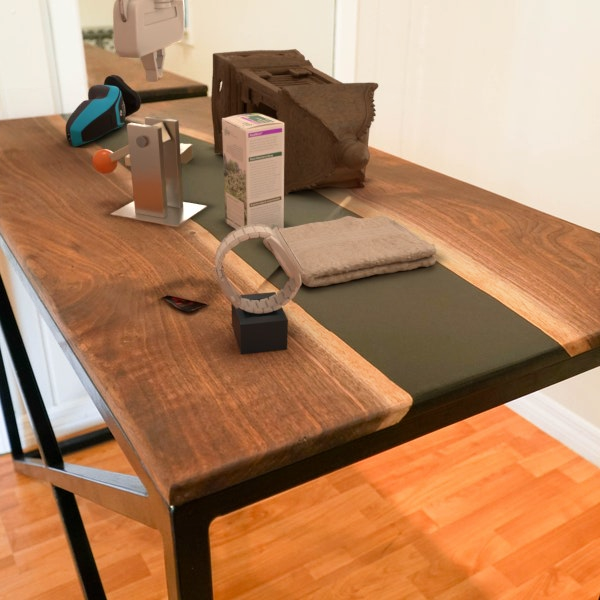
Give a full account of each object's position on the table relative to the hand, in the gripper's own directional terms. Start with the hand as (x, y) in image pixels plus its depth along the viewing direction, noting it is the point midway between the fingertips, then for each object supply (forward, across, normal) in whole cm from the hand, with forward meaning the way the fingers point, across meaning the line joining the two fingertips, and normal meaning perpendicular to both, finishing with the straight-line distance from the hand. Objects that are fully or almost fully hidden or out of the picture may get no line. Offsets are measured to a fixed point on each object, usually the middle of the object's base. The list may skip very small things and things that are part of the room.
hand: (155, 80), depth 102 cm
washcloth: (+14, -30, -34) cm, 48 cm away
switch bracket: (+14, -23, -8) cm, 28 cm away
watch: (+14, -49, -27) cm, 58 cm away
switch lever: (+6, -22, -5) cm, 23 cm away
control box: (+14, 0, 0) cm, 14 cm away
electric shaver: (+14, +16, +18) cm, 28 cm away
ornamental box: (+14, -1, -24) cm, 27 cm away
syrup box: (+14, -25, -21) cm, 35 cm away
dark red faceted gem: (+14, -44, -19) cm, 50 cm away
